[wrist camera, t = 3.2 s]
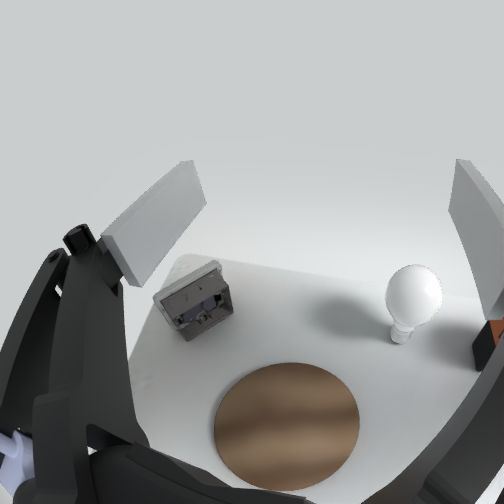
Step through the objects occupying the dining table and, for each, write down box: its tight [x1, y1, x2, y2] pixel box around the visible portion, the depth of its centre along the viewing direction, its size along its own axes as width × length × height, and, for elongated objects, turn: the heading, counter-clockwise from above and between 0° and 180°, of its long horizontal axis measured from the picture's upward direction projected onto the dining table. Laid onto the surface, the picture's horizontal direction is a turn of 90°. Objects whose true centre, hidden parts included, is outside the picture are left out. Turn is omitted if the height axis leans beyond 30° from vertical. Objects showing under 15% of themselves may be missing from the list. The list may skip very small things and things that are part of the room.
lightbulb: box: [385, 265, 442, 344], centre depth 26 cm, size 6×6×11 cm
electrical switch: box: [153, 260, 234, 341], centre depth 35 cm, size 9×5×9 cm, turn 124°
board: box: [214, 363, 359, 491], centre depth 24 cm, size 15×15×1 cm
